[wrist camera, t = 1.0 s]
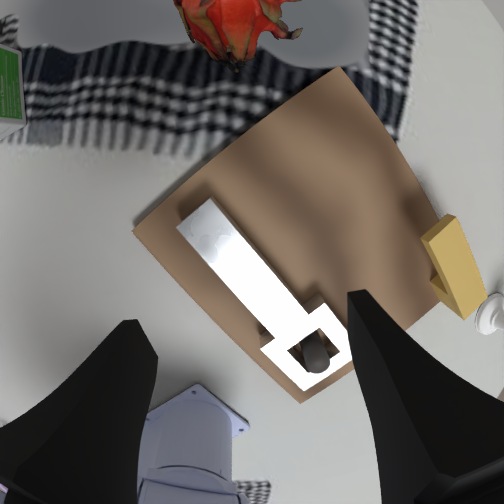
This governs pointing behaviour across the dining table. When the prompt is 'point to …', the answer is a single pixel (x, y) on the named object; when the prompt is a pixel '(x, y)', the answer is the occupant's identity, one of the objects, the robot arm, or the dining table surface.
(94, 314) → the dining table surface
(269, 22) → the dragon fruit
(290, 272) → the board
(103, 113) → the dining table surface
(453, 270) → the block
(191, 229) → the link
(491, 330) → the chess piece
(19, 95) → the skincare box
